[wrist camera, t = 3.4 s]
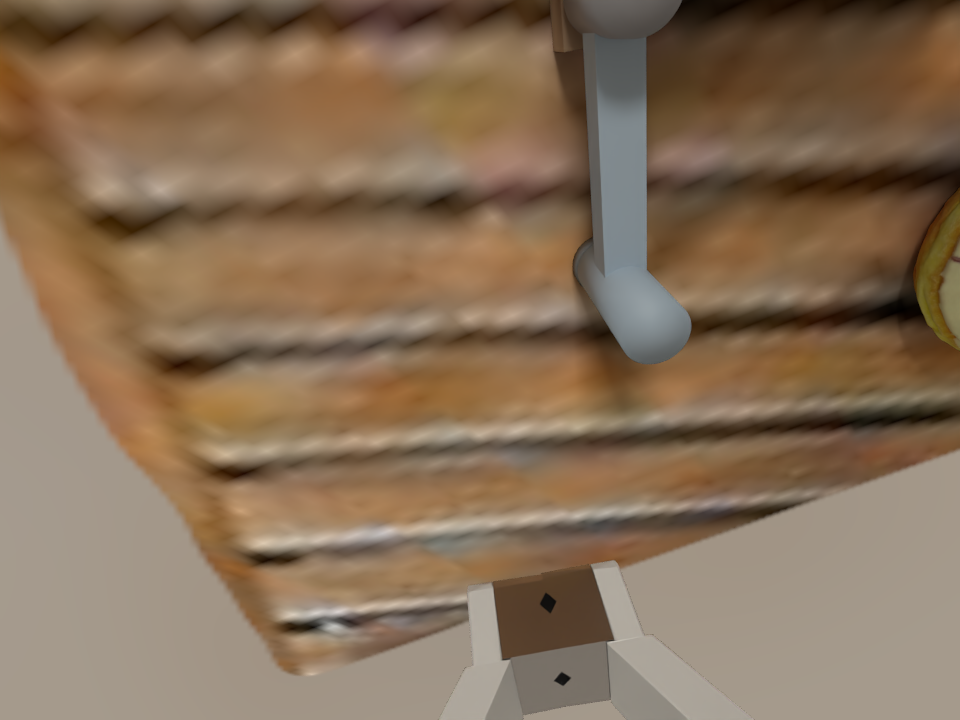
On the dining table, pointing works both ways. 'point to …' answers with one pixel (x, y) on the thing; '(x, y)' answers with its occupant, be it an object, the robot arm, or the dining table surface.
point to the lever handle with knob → (623, 178)
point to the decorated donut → (941, 273)
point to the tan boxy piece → (563, 29)
